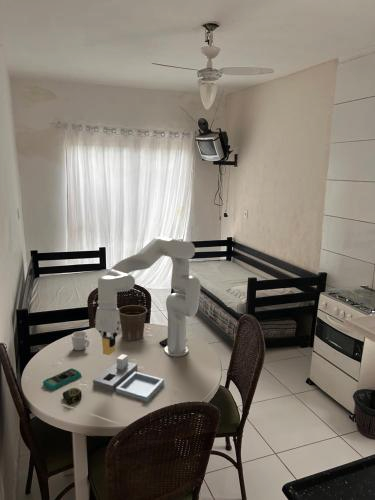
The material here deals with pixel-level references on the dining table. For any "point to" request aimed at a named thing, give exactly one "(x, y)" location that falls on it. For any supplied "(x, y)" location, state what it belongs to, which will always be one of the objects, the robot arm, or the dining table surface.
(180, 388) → the dining table surface
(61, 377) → the digital multimeter
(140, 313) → the plant pot
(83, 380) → the dining table surface
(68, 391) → the tape measure
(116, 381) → the fuse block
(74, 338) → the cup
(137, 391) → the parts tray
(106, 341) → the block
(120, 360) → the block
